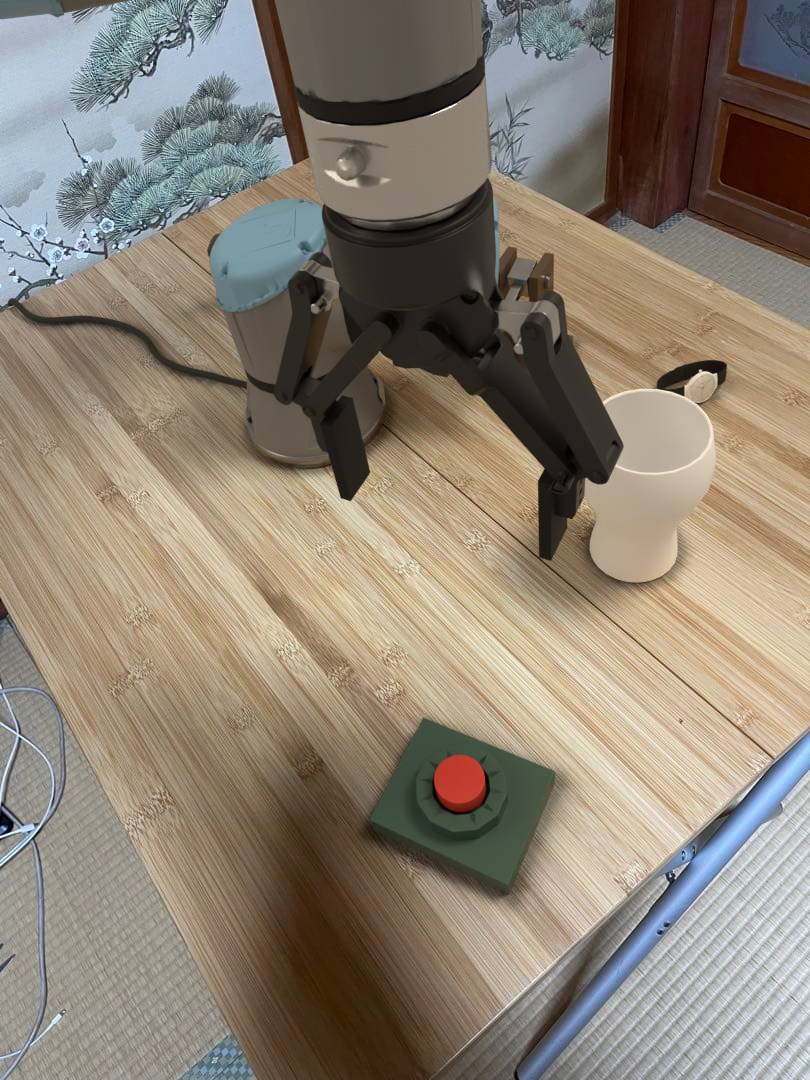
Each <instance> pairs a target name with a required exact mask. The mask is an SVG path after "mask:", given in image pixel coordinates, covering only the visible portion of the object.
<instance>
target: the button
mask: <svg viewBox="0 0 810 1080" xmlns="http://www.w3.org/2000/svg"><path fill="white" fill-rule="evenodd" d="M434 784H435V788H436V792H437V795H438V798H439V800H440V802H441V803H442V804H443V805H444V806H445V807H446V808H448V809H449V810H452V811H455V812H467V811H470V810H473V809H474V808H476V807H477V806H478V805H479V804H480V803H481V802H482V800H483V799H484V796H485V793H486V782H485V775H484V771H483V769H482V767H481V766H480V764H479V763H478V762H477V761H476V760H474V759H473V758H471V757H469V756H465V755H454V756H451V757H448V758H447V759H445V760H444V761H442V762H441V763H440V765H439V766H438V767H437V769H436V772H435V775H434Z"/></svg>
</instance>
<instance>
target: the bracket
mask: <svg viewBox="0 0 810 1080" xmlns="http://www.w3.org/2000/svg"><path fill="white" fill-rule="evenodd" d="M517 257H518V248H517V247H514V246H507V247H506V249H505V250H504V252H503V253H502V254H501V256H499V277H498V288H499V290H500V292H501V293H502V295H503V296H504V298H505V297H506V295H507V293H508V291H509V288H508V281H507V276H508V274H509V272H510V270H511V268H512V266H513V264H514V262H515V260H516V258H517ZM554 273H555V254H554V253H552V252H544V253H543V255H542V256H541V257H540V259H539V260H538V261H537V265H536V267H535V268H534V270H533V271H532V273H531V274H530V276H529V297H528V302H537V300H538V299H539V297H540V296H541V294H542V293H543V292H545V291H550V290H551V291H555V290H554V287H555V286H554V285H555V284H554V283H555V281H554V278H555V276H554V275H555V274H554ZM503 334H504V335H505V336H506V337H507V338H508V340H509V341H510V342H511V344H512V346H514V344H515V343H514V341H513V339H512V337H511V335H510V334H509V333H507V332H506V331H503ZM568 335H569V337H570V339H571V341H572V343H573V344H574V335H572V334H568ZM513 352H514V357H515V358H516V360H517V361H518V362H519V363H520V364H521V365H522V367H523V368H524V369H525V370H526V371H527V372H528V374H529V375H530V373H529V371H528V368H527V365H526V363H525V358H524V354H521V355H520V354H517V353H516V352H515V351H514V350H513ZM530 376H531V375H530Z"/></svg>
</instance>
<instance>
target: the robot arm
mask: <svg viewBox="0 0 810 1080" xmlns="http://www.w3.org/2000/svg"><path fill="white" fill-rule="evenodd" d="M129 1H131V0H0V20H9V19H18V18H26V17H34V16H36V17H37V16H42V15H50V16H53V17H55V18H60V17H62V16H63V17H64V16H65V14H67V13H72V12H78V11H83V10H89V9H94V8H98V7H104V6H109V5H114V4H120V3H125V2H129ZM274 3H275V7H276V12H277V16H278V21H279V24H280V29H281V33H282V37H283V41H284V45H285V46H284V47H285V50H286V54H287V58H288V62H289V66H290V67H289V68H290V71H291V75H292V85H293V90H294V91H293V92H294V95H295V96H294V97H295V100H296V101H295V102H296V103H297V107H298V112H299V116H300V121H301V126H302V131H303V135H304V140H305V144H306V149H307V153H308V157H309V163H310V167H311V171H312V176H313V180H314V185H315V191H316V193H317V195H318V197H319V200H320V202H322V203H323V205H322V206H321V204H319V203H317V202H316V201H314V200H311V199H307V200H305V199H304V198H300V197H292V198H283V199H277V200H274V201H269V202H267V203H264V204H261V205H259V206H256V207H254V208H252V209H250V210H249V211H246V212H245V213H243V214H242V215H240V216H239V217H237V218H236V219H234V221H232V222H231V223H230V224H229V225H227V226H226V227H225V228H224V229H223V230H222V232H220V233H221V234H220V235H219V237H218V238H217V240H216V241H215V243H214V245H213V247H212V250H211V253H210V258H209V257H208V258H209V260H208V267H209V271H210V275H211V279H212V282H213V285H214V289H215V299H216V301H217V304H218V305H219V307H220V309H221V311H222V313H223V316H224V319H225V321H226V324H227V327H228V329H229V333H230V335H231V338H232V340H233V344H234V346H235V348H236V351H237V354H238V357H239V358H240V362H241V364H242V367H243V370H244V373H245V376H246V380H242V379H237V378H234V377H229V376H227V375H222V374H219V373H215V372H211V371H207V370H202V369H198V368H194V367H190V366H186V365H183V364H180V363H178V362H175V361H173V360H171V359H169V358H167V357H165V356H164V355H163V354H162V353H161V352H159V350H158V349H157V347H156V346H155V344H154V343H153V341H152V340H151V338H149V336H148V335H147V334H146V333H145V332H143V331H142V330H141V329H139V328H137V327H135V326H133V325H131V324H129V323H126V322H123V321H120V320H116V319H112V318H106V317H103V316H102V317H100V316H94V315H67V316H41V315H37V314H34V313H33V312H31V311H30V310H28V309H27V308H26V307H25V306H23V304H22V303H21V302H20V301H19V300H18V299H16V298H14V297H11V298H9V299H8V300H7V306H8V307H13V306H14V307H15V308H16V309H17V310H18V311H19V312H20V313H21V314H22V315H23V316H24V317H26V318H27V319H29V320H30V321H33V322H37V323H41V324H66V323H93V324H101V325H107V326H110V327H111V326H112V327H114V328H115V327H116V328H119V329H122V330H123V331H127V332H129V333H130V334H133V335H134V336H136V337H138V338H139V339H140V340H142V342H143V343H144V344H145V346H146V347H147V349H148V350H149V352H150V353H151V355H152V356H153V357H154V358H155V359H156V360H157V361H158V362H159V363H160V364H162V365H164V366H166V367H167V368H170V369H172V370H173V371H176V372H180V373H183V374H186V375H191V376H195V377H200V378H202V379H203V378H204V379H208V380H211V381H214V382H218V383H222V384H226V385H229V386H234V387H236V388H240V389H245V390H246V397H245V398H246V400H245V405H246V407H245V423H246V427H247V431H248V434H249V437H250V439H251V441H252V444H253V445H254V447H255V449H256V450H257V451H258V452H259V454H261V456H263V457H265V458H266V459H268V460H269V461H271V462H273V463H275V464H278V465H282V466H285V467H291V468H301V469H309V468H318V467H319V468H320V467H325V466H329V465H330V466H331V469H332V472H333V476H334V480H335V484H336V487H337V490H338V494H339V497H340V499H341V500H345V501H348V502H352V500H353V499H354V497H355V496H356V495H357V493H358V491H359V490H360V489H361V487H362V486H363V485H364V483H365V482H366V480H367V478H368V477H369V476H370V474H371V469H370V466H369V460H368V457H367V453H366V448H365V447H366V446H367V445H369V444H370V443H371V442H372V441H373V440H374V439H375V437H377V435H378V433H379V432H380V431H381V429H382V427H383V424H384V422H385V418H386V412H387V408H386V405H387V403H386V396H385V389H384V388H385V387H384V382H383V380H382V379H381V378H380V376H379V374H378V373H376V375H375V374H374V372H372V371H371V369H369V368H368V365H369V364H370V363H371V362H372V361H373V360H374V358H376V356H377V355H378V354H379V353H381V355H382V356H384V357H385V358H386V359H388V360H390V361H391V362H392V366H393V367H397V368H402V369H406V370H407V369H409V370H411V369H420V370H422V371H424V372H426V373H429V374H432V375H433V376H437V377H442V378H447V379H448V377H449V376H451V377H452V378H453V379H454V380H455V381H456V382H457V384H458V385H459V386H460V387H461V388H462V390H464V391H465V393H466V394H468V395H469V396H472V397H474V396H479V398H481V399H482V400H483V402H484V403H485V404H486V405H487V406H488V407H489V408H490V409H491V411H493V413H494V414H495V416H497V418H499V420H500V421H501V422H502V423H503V424H504V425H505V427H507V428H508V429H509V431H510V432H511V433H512V434H513V435H514V436H515V437H516V439H517V440H518V441H519V442H520V443H521V444H522V446H524V447H525V449H526V450H527V451H528V452H529V453H530V454H531V455H532V457H533V458H534V459H535V460H536V461H537V462H538V463H539V464H540V466H542V467H543V470H542V473H541V474H540V477H538V480H537V508H538V509H537V515H538V516H537V518H538V520H537V522H538V525H537V527H538V558H539V559H543V560H546V561H549V562H552V561H553V558H554V557H555V554H556V552H557V550H558V548H559V546H560V545H561V542H562V540H563V538H564V535H565V534H566V532H567V530H568V520H573V519H574V517H575V516H576V515H577V512H578V511H579V508H580V506H581V505H582V503H583V501H584V499H585V478H588V479H589V480H590V481H591V482H592V483H595V484H600V485H602V484H606V483H607V482H608V480H609V478H610V476H611V474H612V472H613V470H614V467H615V465H616V463H617V461H618V459H619V457H620V455H621V453H622V450H623V447H624V445H623V442H622V440H621V438H620V436H619V434H618V432H617V430H616V428H615V426H614V424H613V422H612V420H611V418H610V416H609V414H608V412H607V410H606V408H605V406H604V404H603V401H602V398H601V396H600V394H599V393H598V390H597V389H596V387H595V384H594V383H593V381H592V379H591V376H590V375H589V373H588V370H587V368H586V367H585V365H584V362H583V361H582V359H581V357H580V355H579V353H578V351H577V349H576V347H575V345H574V342H573V343H572V341H571V339H570V337H569V335H570V334H569V332H568V323H567V314H566V305H565V300H564V298H563V296H562V295H561V294H560V293H558V292H557V291H555V290H554V291H551V290H550V291H545V292H543V293H542V294H541V296H540V297H539V299H538V300H537V302H529V301H526V300H525V301H524V300H519V301H512V300H505V298H504V296H503V295H502V293H501V292H500V290H499V288H498V277H499V259H500V253H501V252H500V251H501V250H500V248H501V247H500V245H501V243H500V233H499V229H500V225H499V222H500V221H499V220H500V219H499V218H500V217H499V216H500V215H499V207H498V202H497V200H496V198H495V197H494V190H493V185H492V183H491V180H490V179H489V178H488V177H489V175H490V174H491V172H492V166H493V157H492V144H491V132H490V119H489V104H488V93H487V91H488V90H487V80H486V77H487V76H486V59H485V47H484V45H483V30H482V29H483V28H482V25H483V24H482V5H481V0H274ZM500 329H501V330H504V331H506V332H507V333H509V334H510V335H511V337H512V339H513V341H514V343H515V344H514V346H512V344H511V342H510V341H509V340H508V338H507V337H506V336H505V335H504V334H503V333H502V331H501V330H500ZM482 348H483V349H484V351H485V356H484V358H483V359H482V361H481V362H480V364H479V365H478V367H477V366H476V365H475V363H474V362H473V361H472V359H473V358H474V357H475V356H476V354H477V353H478V352H479V351H480V350H481V349H482ZM513 350H514V351H515V352H516V353H517V354H520V355H521V354H524V358H525V363H526V365H527V368H528V371H529V373H530V375H531V376H530V375H529V374H528V372H527V371H526V370H525V369H524V368H523V367H522V365H521V364H520V363H519V362H518V361H517V360H516V358H515V357H514V352H513Z"/></svg>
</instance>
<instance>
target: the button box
mask: <svg viewBox="0 0 810 1080" xmlns="http://www.w3.org/2000/svg"><path fill="white" fill-rule="evenodd" d="M454 755H465V756H469V757H471V758H473V759H474V760H476V761H477V762H478V763H479V764H480V766H481V767H482V769H483V771H484V775H485V782H486V793H485V796H484V799H483V800H482V802H481V803H480V804H479V805H478V806H477V807H476V808H474V809H473V810H470V811H467V812H455V811H452V810H449V809H448V808H446V807H445V806H444V805H443V804H442V803H441V802H440V800H439V798H438V795H437V792H436V788H435V784H434V775H435V772H436V769H437V767H438V766H439V765H440V763H441V762H442V761H444V760H445V759H447V758H448V757H451V756H454ZM555 785H556V771H555V770H554V769H551V768H548V767H545V766H543V765H541V764H538V763H536V762H534V761H531V760H528V759H527V758H524V757H521V756H519V755H516V754H514V753H512V752H509V751H506V750H504V749H501V748H499V747H497V746H494V745H492V744H490V743H487V742H484V741H482V740H480V739H477V738H475V737H472V736H470V735H468V734H465V733H463V732H460V731H458V730H455V729H453V728H451V727H448V726H446V725H443V724H441V723H439V722H436V721H433V720H431V719H428V718H426V717H422V719H421V721H420V723H419V725H418V726H417V729H416V730H415V732H414V734H413V736H412V738H411V739H410V742H409V743H408V746H407V748H406V750H405V751H404V753H403V755H402V756H401V759H400V761H399V763H398V765H397V767H396V769H395V771H394V772H393V774H392V776H391V778H390V780H389V782H388V784H387V786H386V787H385V790H384V791H383V794H382V795H381V797H380V799H379V801H378V803H377V804H376V807H375V809H374V811H373V812H372V814H371V816H370V818H369V822H370V824H371V826H372V829H373V831H375V832H377V833H379V834H381V835H383V836H385V837H387V838H389V839H392V840H394V841H396V842H398V843H400V844H402V845H403V846H406V847H408V848H410V849H413V850H415V851H417V852H419V853H421V854H423V855H425V856H426V857H430V858H431V859H434V860H436V861H438V862H439V863H441V864H444V865H446V866H448V867H450V868H451V869H452V868H453V869H455V870H457V872H458V871H459V872H461V873H463V874H465V875H467V876H469V877H471V878H473V879H475V880H477V881H479V882H481V883H483V884H485V885H488V886H490V887H492V888H494V889H496V890H498V891H500V892H503V893H504V894H507V895H510V894H511V891H512V889H513V887H514V885H515V882H516V880H517V877H518V874H519V872H520V869H521V867H522V865H523V862H524V860H525V857H526V855H527V852H528V851H529V847H530V845H531V843H532V841H533V838H534V835H535V834H536V831H537V829H538V826H539V823H540V821H541V818H542V816H543V813H544V811H545V809H546V806H547V804H548V802H549V799H550V797H551V794H552V791H553V790H554V787H555Z"/></svg>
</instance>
